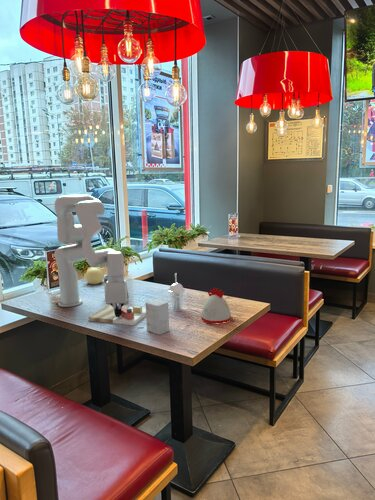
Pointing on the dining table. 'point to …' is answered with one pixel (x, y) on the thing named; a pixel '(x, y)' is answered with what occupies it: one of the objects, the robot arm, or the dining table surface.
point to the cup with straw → (176, 295)
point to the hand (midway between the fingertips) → (118, 316)
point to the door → (138, 315)
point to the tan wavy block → (104, 314)
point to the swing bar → (127, 313)
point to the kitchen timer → (215, 308)
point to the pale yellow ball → (95, 275)
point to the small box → (157, 316)
